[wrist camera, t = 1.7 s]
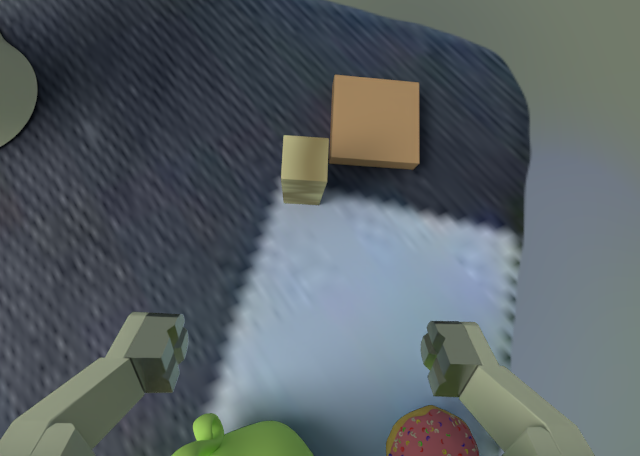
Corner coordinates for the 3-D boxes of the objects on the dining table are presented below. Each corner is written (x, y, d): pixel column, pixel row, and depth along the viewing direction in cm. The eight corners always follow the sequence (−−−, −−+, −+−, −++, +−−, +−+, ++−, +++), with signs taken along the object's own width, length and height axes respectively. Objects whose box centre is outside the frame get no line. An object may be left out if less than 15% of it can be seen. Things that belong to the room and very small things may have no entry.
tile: (328, 164, 39) (331, 156, 37) (332, 87, 41) (334, 74, 38) (411, 171, 40) (419, 163, 38) (411, 94, 42) (419, 82, 39)
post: (283, 203, 38) (281, 178, 29) (285, 169, 38) (283, 135, 29) (319, 205, 38) (327, 181, 29) (320, 171, 39) (328, 138, 30)
